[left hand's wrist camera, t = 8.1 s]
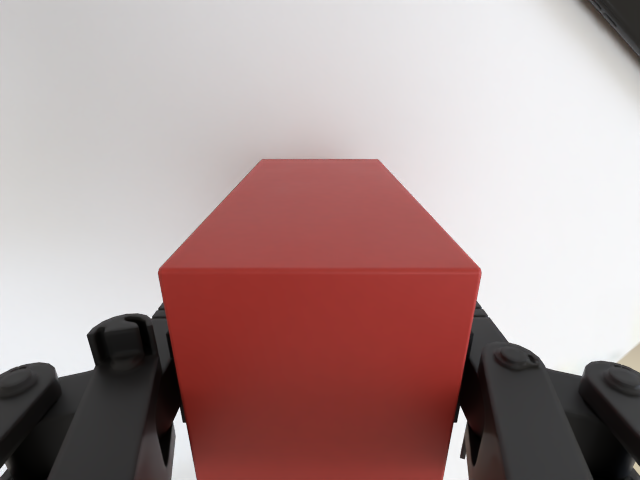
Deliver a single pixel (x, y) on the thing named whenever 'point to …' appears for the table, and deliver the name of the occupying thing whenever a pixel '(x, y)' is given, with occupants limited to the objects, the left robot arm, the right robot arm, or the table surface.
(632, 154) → the table surface
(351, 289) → the brick
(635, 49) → the smartphone
